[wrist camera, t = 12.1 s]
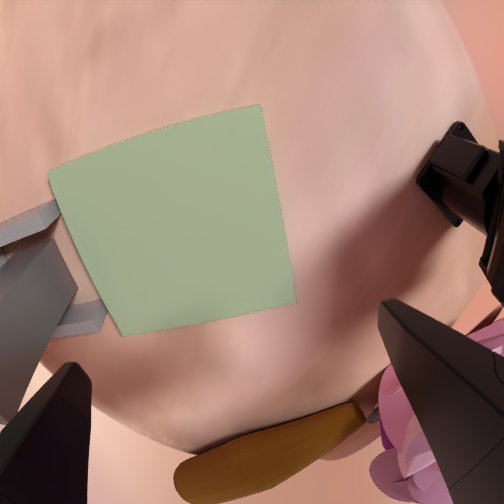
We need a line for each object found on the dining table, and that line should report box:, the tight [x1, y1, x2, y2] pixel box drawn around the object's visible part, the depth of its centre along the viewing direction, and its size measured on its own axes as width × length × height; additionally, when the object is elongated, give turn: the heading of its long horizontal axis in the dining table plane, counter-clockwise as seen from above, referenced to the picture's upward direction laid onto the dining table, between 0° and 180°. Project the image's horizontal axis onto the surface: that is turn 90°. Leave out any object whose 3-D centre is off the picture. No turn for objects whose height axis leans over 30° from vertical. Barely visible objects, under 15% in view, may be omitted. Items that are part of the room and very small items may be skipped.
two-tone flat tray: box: [0, 104, 297, 339], centre depth 19 cm, size 23×14×2 cm, turn 102°
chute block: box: [0, 238, 78, 425], centre depth 15 cm, size 4×4×13 cm
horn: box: [173, 402, 366, 504], centre depth 32 cm, size 8×10×25 cm
